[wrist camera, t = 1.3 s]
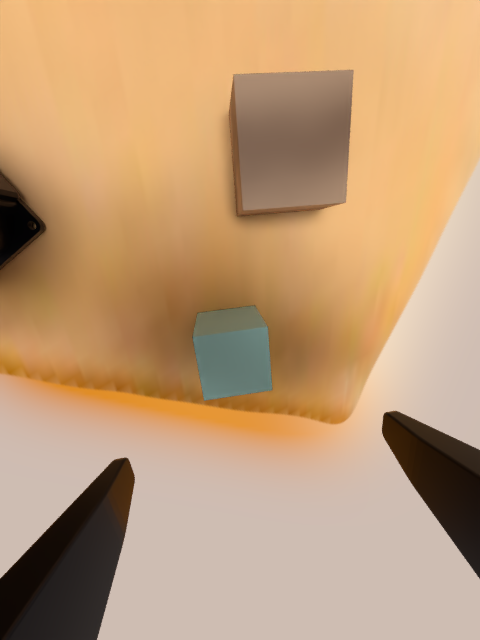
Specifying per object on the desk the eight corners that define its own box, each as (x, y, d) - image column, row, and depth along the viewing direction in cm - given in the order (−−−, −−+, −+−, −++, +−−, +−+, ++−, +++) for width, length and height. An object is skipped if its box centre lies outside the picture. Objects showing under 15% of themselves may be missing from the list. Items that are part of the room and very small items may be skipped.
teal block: (259, 355, 21) (272, 390, 16) (206, 363, 21) (204, 400, 16) (254, 305, 20) (267, 326, 15) (197, 312, 19) (192, 337, 15)
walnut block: (317, 209, 18) (345, 202, 14) (236, 216, 17) (243, 210, 14) (320, 109, 16) (353, 69, 12) (228, 114, 15) (233, 74, 12)
